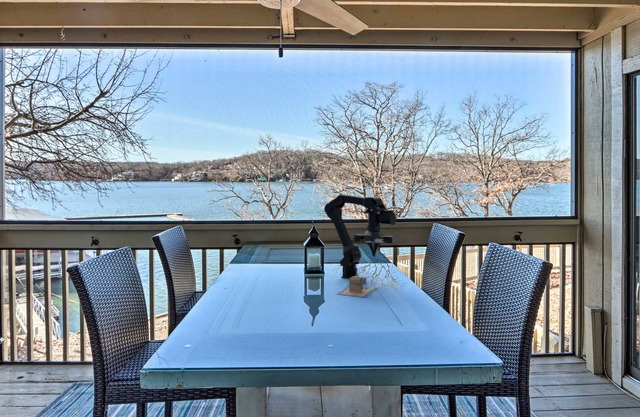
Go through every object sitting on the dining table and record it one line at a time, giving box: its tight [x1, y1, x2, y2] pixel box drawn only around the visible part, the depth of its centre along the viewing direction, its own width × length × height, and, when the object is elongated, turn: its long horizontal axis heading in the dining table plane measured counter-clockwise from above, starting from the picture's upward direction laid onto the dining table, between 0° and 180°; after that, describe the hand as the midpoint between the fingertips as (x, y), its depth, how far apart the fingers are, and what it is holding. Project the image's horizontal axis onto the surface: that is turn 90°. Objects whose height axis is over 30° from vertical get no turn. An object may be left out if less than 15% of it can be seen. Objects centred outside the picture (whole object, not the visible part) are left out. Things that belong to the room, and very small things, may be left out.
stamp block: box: [348, 276, 364, 294], centre depth 181 cm, size 4×4×6 cm
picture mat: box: [336, 285, 377, 299], centre depth 182 cm, size 13×15×1 cm
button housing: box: [363, 276, 367, 286], centre depth 195 cm, size 6×6×2 cm
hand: (374, 256), depth 197 cm, fingers closed
